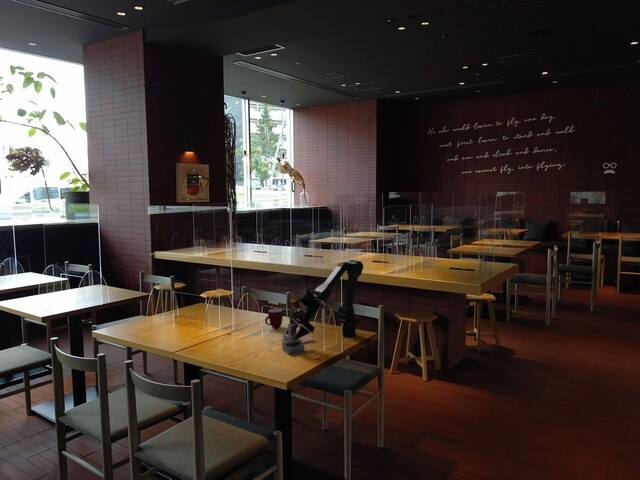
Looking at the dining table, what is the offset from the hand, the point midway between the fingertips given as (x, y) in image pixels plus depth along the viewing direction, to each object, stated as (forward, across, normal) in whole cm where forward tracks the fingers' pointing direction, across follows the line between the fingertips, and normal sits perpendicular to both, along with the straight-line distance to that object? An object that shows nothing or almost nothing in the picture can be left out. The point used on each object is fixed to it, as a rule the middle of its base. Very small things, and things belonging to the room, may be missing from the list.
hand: (290, 336), depth 231 cm
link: (+4, 0, +6) cm, 7 cm away
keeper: (-1, -11, +11) cm, 16 cm away
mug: (+1, -37, +10) cm, 39 cm away
